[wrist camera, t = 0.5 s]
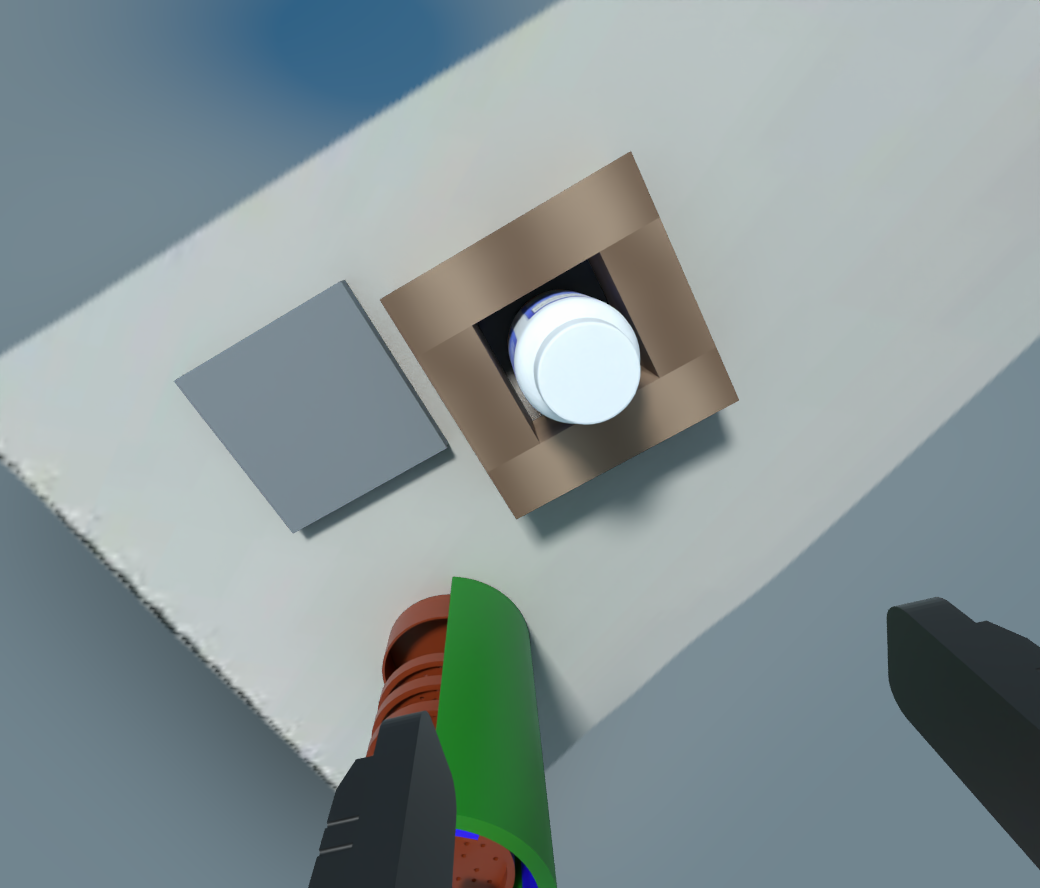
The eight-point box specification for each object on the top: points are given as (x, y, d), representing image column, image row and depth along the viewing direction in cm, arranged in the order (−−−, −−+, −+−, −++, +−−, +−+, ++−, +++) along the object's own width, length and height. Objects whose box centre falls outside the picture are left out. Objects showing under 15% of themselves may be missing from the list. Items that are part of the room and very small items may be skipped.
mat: (344, 280, 29) (340, 281, 28) (447, 442, 32) (447, 448, 31) (183, 376, 30) (173, 380, 29) (298, 525, 33) (293, 533, 32)
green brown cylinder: (399, 568, 35) (307, 948, 16) (544, 588, 36) (620, 966, 17) (377, 703, 38) (277, 1159, 19) (512, 718, 39) (545, 1162, 20)
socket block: (610, 164, 28) (630, 151, 25) (708, 382, 32) (739, 400, 29) (391, 293, 30) (379, 299, 26) (512, 489, 34) (516, 519, 30)
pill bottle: (575, 405, 32) (614, 468, 23) (488, 361, 31) (493, 408, 22) (625, 318, 31) (688, 346, 22) (537, 268, 30) (563, 276, 21)
